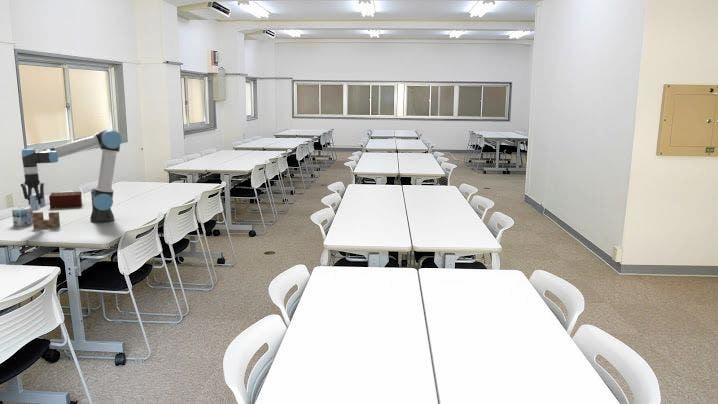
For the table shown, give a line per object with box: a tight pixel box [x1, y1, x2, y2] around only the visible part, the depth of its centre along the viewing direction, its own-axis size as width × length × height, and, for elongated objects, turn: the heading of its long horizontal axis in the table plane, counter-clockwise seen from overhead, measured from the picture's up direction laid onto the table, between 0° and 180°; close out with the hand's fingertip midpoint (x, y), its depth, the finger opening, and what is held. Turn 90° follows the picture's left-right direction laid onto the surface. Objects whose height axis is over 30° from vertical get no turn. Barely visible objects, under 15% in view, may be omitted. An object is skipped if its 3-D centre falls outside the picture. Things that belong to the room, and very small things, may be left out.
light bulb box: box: [11, 206, 34, 227], centre depth 352 cm, size 11×7×11 cm, turn 168°
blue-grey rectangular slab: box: [30, 190, 46, 212], centre depth 339 cm, size 14×3×10 cm, turn 10°
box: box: [48, 191, 83, 209], centre depth 412 cm, size 21×16×10 cm
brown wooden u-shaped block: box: [32, 211, 61, 229], centre depth 346 cm, size 15×3×10 cm, turn 99°
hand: (35, 209), depth 336 cm, fingers closed on blue-grey rectangular slab, 3 cm apart
